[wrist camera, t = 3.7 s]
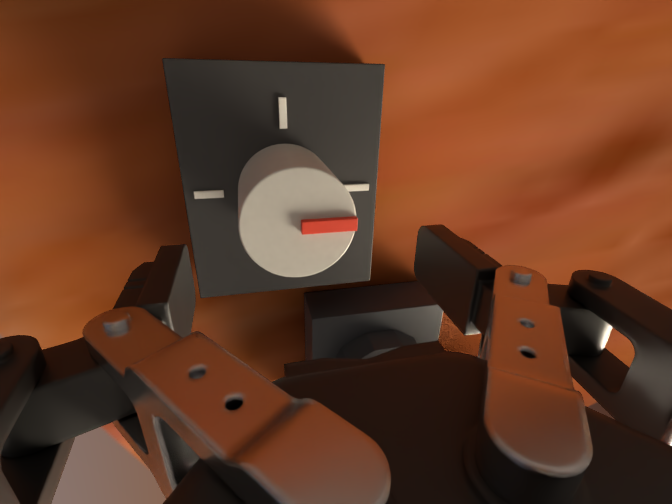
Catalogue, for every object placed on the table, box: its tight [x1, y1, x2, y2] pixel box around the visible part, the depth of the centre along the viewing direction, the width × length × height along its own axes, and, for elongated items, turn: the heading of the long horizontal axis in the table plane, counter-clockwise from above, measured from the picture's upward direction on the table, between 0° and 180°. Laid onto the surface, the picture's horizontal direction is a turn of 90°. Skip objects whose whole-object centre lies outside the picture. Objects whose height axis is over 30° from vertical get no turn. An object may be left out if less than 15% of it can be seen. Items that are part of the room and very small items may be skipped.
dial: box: [238, 144, 358, 277], centre depth 17 cm, size 5×5×5 cm
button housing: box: [304, 281, 443, 361], centre depth 27 cm, size 10×9×5 cm
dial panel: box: [162, 58, 385, 298], centre depth 21 cm, size 12×10×3 cm
